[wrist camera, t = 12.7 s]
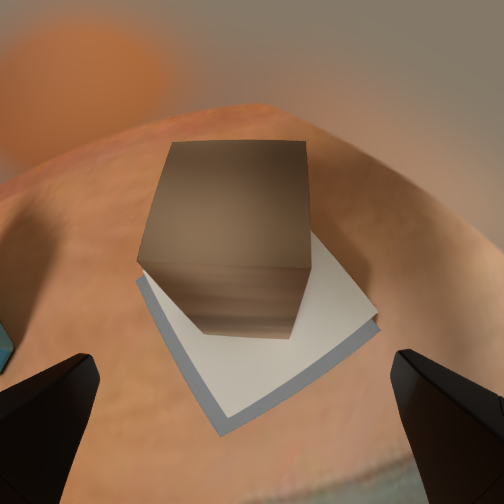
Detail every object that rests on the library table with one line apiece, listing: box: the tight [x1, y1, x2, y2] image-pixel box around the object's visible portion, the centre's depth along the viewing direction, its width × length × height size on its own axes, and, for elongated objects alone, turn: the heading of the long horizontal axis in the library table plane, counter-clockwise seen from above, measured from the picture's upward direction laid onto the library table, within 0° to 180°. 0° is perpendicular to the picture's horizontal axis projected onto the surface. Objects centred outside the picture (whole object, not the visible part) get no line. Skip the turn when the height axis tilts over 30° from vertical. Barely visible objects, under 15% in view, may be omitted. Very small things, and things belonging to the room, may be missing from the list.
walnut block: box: [137, 140, 312, 339], centre depth 14 cm, size 5×5×10 cm
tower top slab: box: [143, 231, 379, 418], centre depth 19 cm, size 11×11×2 cm
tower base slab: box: [136, 275, 381, 437], centre depth 22 cm, size 13×13×2 cm
